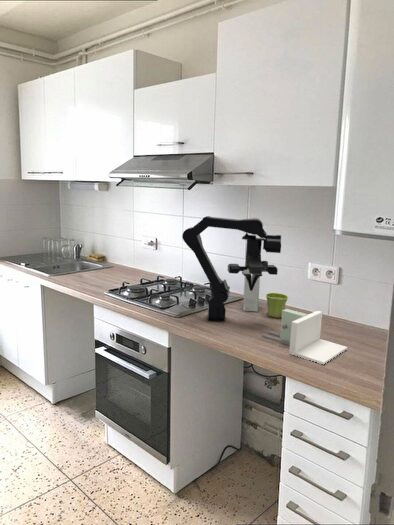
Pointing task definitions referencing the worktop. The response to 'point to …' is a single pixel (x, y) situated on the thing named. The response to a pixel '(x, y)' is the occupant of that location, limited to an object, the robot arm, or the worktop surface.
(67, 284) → the worktop surface
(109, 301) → the worktop surface
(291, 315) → the door
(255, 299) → the skincare box
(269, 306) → the plant pot
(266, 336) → the white l-shaped stand
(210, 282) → the robot arm
